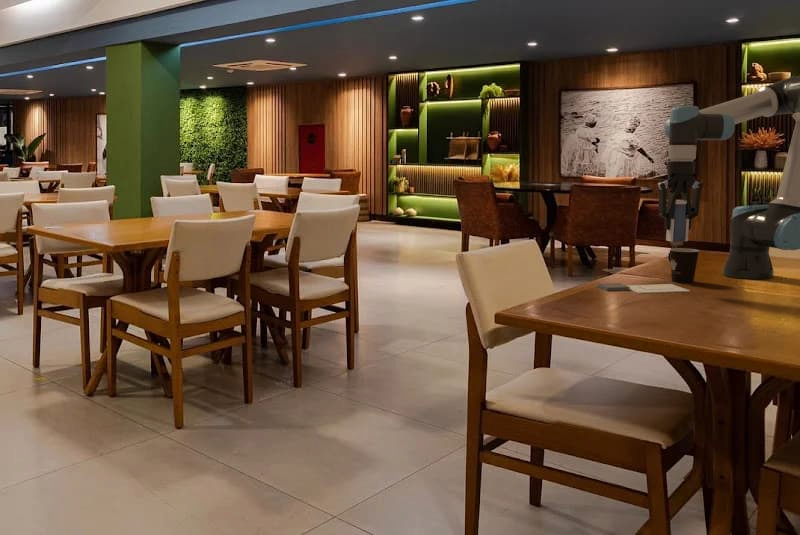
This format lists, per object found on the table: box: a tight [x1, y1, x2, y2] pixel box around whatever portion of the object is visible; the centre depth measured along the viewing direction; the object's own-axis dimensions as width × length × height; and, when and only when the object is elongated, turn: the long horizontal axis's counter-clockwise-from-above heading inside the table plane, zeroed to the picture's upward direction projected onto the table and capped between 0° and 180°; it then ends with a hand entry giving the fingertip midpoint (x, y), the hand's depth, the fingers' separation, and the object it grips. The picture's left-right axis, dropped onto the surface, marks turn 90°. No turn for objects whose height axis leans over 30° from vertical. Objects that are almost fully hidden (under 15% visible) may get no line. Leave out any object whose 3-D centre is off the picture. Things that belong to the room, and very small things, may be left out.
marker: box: [670, 199, 687, 246], centre depth 222 cm, size 4×4×13 cm
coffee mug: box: [667, 247, 700, 284], centre depth 240 cm, size 12×9×10 cm
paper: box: [627, 283, 691, 294], centre depth 226 cm, size 16×11×1 cm
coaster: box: [597, 282, 631, 292], centre depth 227 cm, size 7×7×1 cm
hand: (676, 240), depth 223 cm, fingers closed on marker, 4 cm apart
